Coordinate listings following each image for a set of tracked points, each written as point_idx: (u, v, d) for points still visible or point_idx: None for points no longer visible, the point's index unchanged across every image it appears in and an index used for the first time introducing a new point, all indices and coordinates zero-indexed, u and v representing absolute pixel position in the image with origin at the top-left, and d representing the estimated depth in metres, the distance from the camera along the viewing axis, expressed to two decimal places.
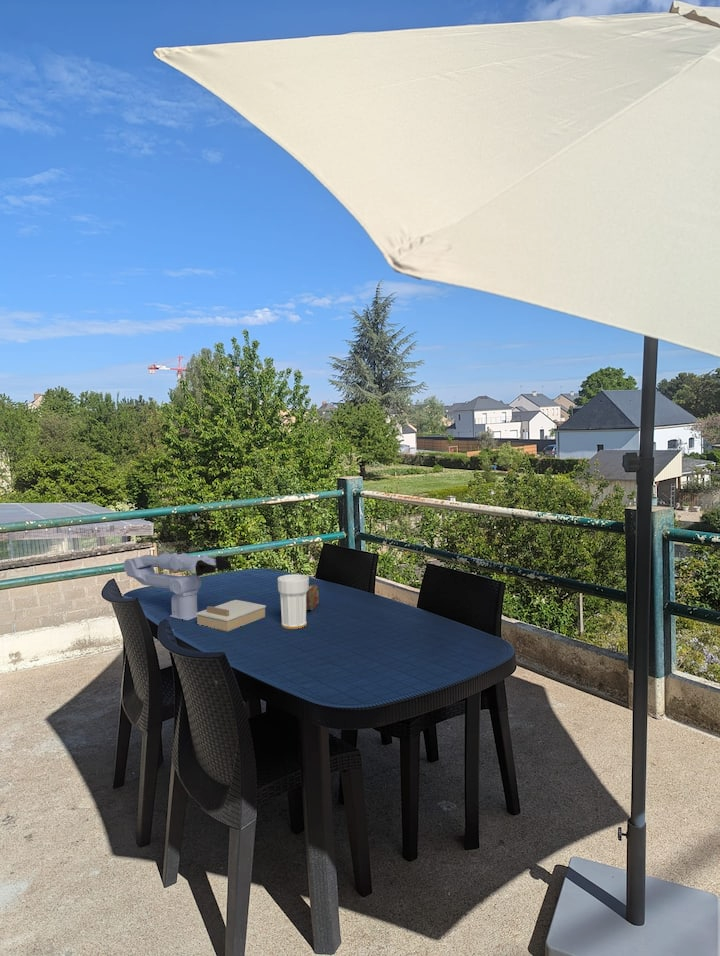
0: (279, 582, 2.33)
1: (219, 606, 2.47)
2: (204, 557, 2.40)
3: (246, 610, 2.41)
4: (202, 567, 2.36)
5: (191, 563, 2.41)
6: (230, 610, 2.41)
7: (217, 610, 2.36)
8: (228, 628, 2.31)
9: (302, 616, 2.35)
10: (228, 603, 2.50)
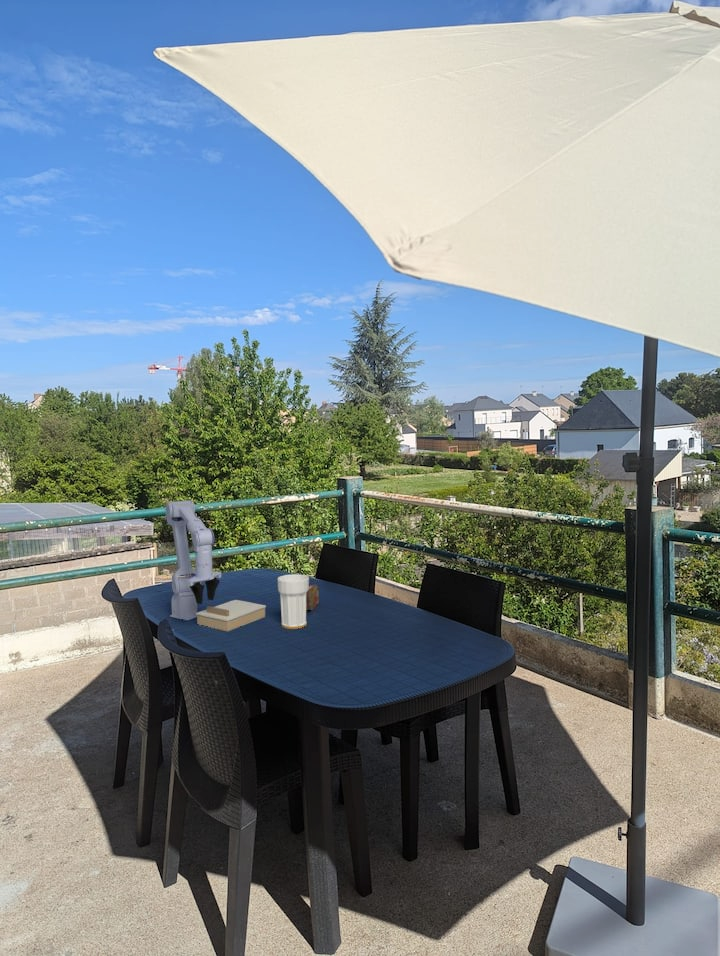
0: (279, 582, 2.33)
1: (219, 606, 2.47)
2: None
3: (246, 610, 2.41)
4: None
5: (199, 566, 2.28)
6: (230, 610, 2.41)
7: (217, 610, 2.36)
8: (228, 628, 2.31)
9: (302, 616, 2.35)
10: (228, 603, 2.50)
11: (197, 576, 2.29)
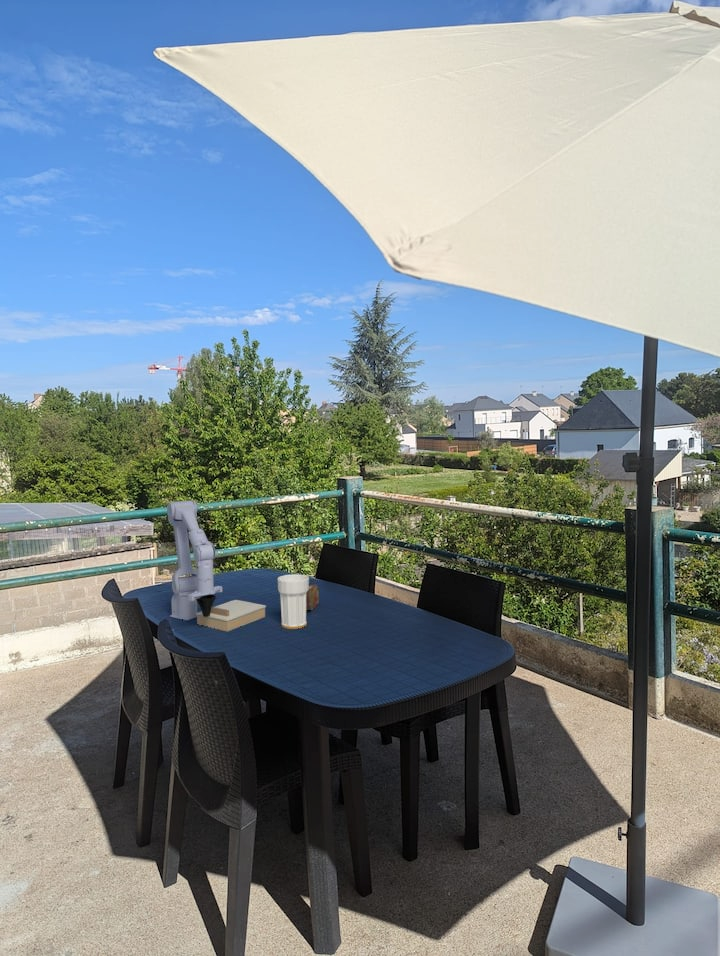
0: (279, 582, 2.33)
1: (219, 606, 2.47)
2: (210, 594, 2.29)
3: (246, 610, 2.41)
4: None
5: (200, 581, 2.29)
6: (230, 610, 2.41)
7: (217, 610, 2.36)
8: (228, 628, 2.31)
9: (302, 616, 2.35)
10: (228, 603, 2.50)
11: (198, 591, 2.29)
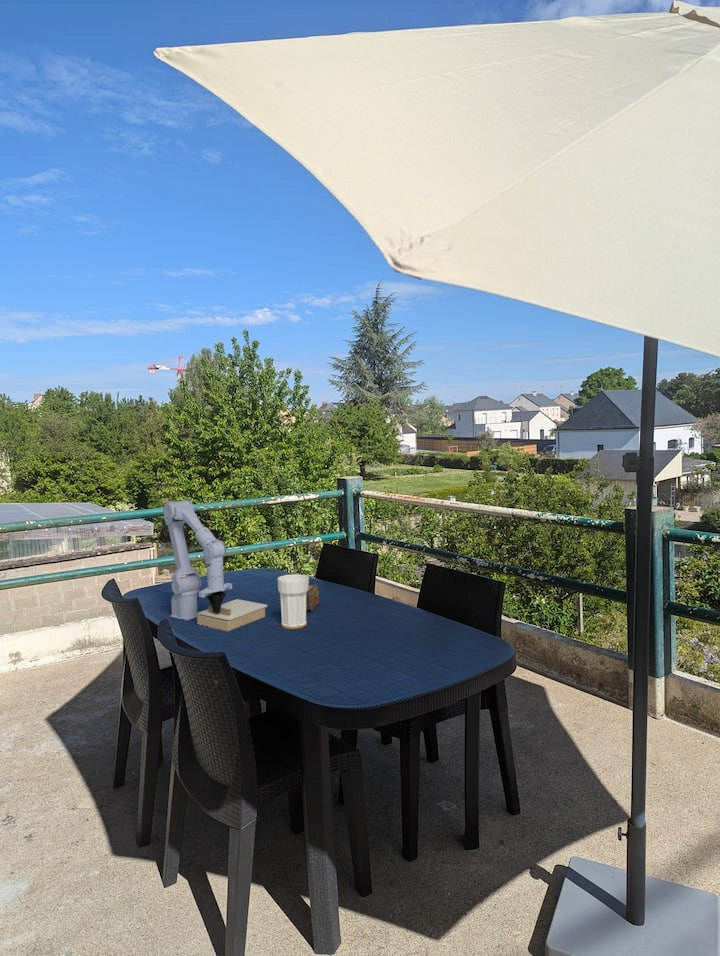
0: (279, 582, 2.33)
1: (221, 605, 2.47)
2: (220, 590, 2.34)
3: (248, 609, 2.42)
4: None
5: (211, 578, 2.33)
6: (232, 609, 2.42)
7: None
8: (228, 628, 2.31)
9: (302, 616, 2.35)
10: (229, 603, 2.51)
11: (209, 588, 2.34)
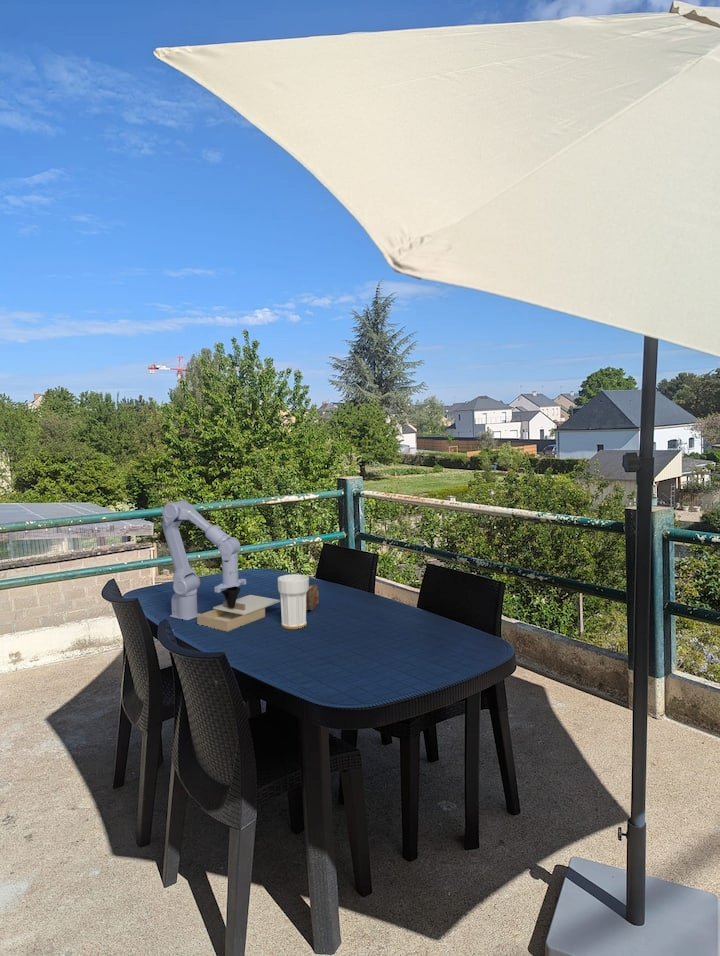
0: (279, 582, 2.33)
1: None
2: None
3: (261, 604, 2.48)
4: None
5: (226, 574, 2.39)
6: (246, 604, 2.48)
7: None
8: (228, 628, 2.31)
9: (302, 616, 2.35)
10: (243, 598, 2.57)
11: (224, 583, 2.40)
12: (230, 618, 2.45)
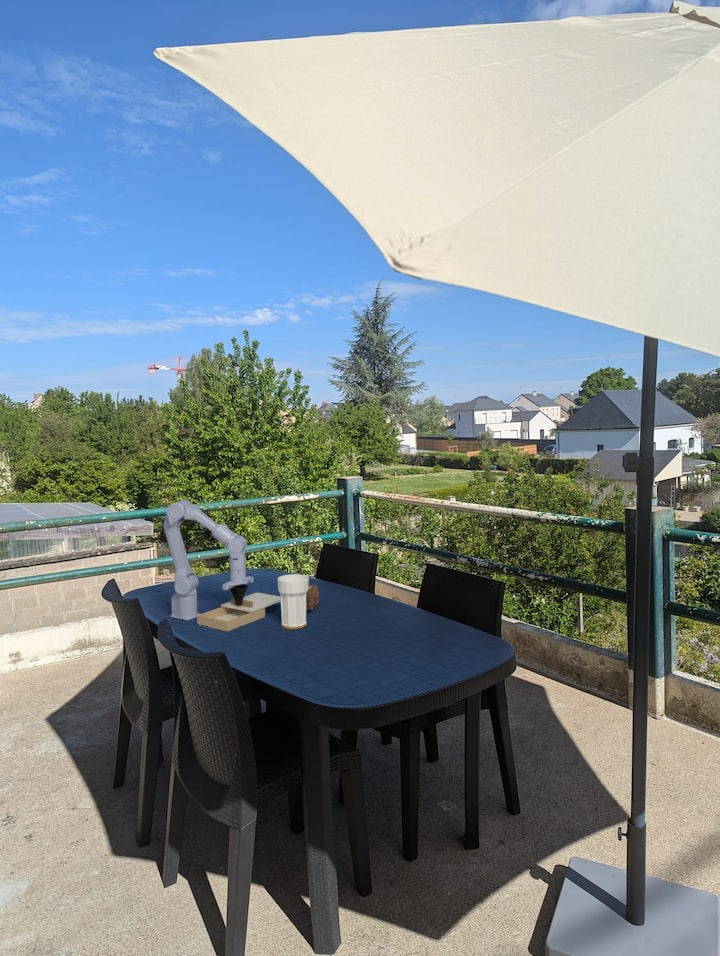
0: (279, 582, 2.33)
1: None
2: (243, 583, 2.43)
3: (268, 602, 2.52)
4: None
5: (234, 571, 2.42)
6: (253, 602, 2.52)
7: None
8: (228, 628, 2.31)
9: (302, 616, 2.35)
10: (250, 596, 2.61)
11: (232, 581, 2.43)
12: (230, 618, 2.45)
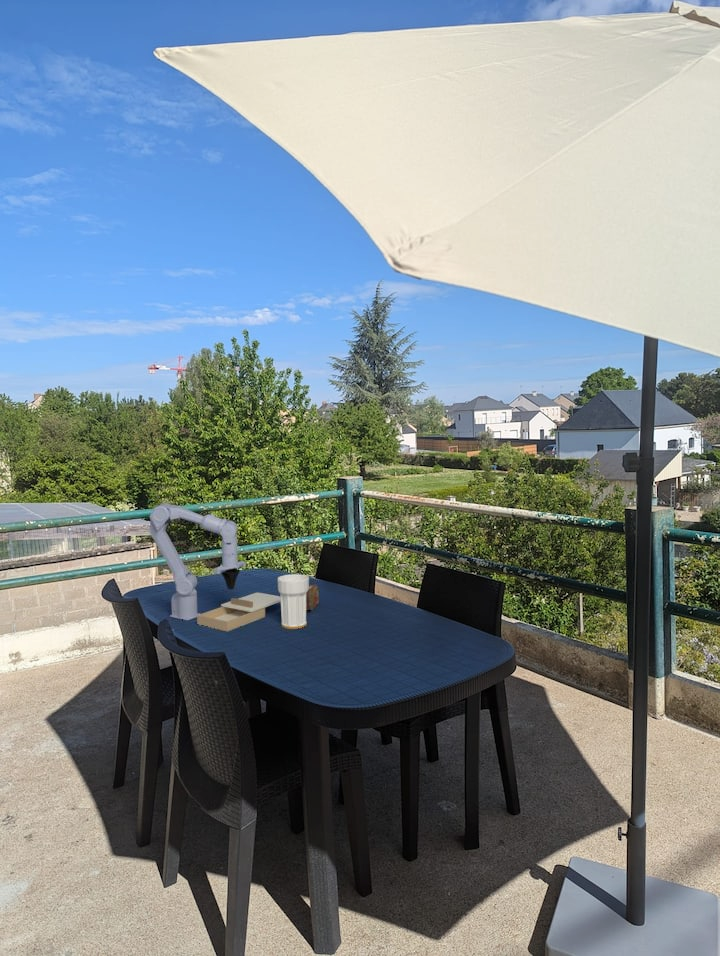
0: (279, 582, 2.33)
1: (242, 598, 2.57)
2: (234, 568, 2.46)
3: (269, 602, 2.52)
4: (229, 574, 2.48)
5: (225, 556, 2.45)
6: (253, 602, 2.52)
7: (241, 602, 2.47)
8: (228, 628, 2.31)
9: (302, 616, 2.35)
10: (250, 595, 2.61)
11: (223, 565, 2.46)
12: (230, 618, 2.45)
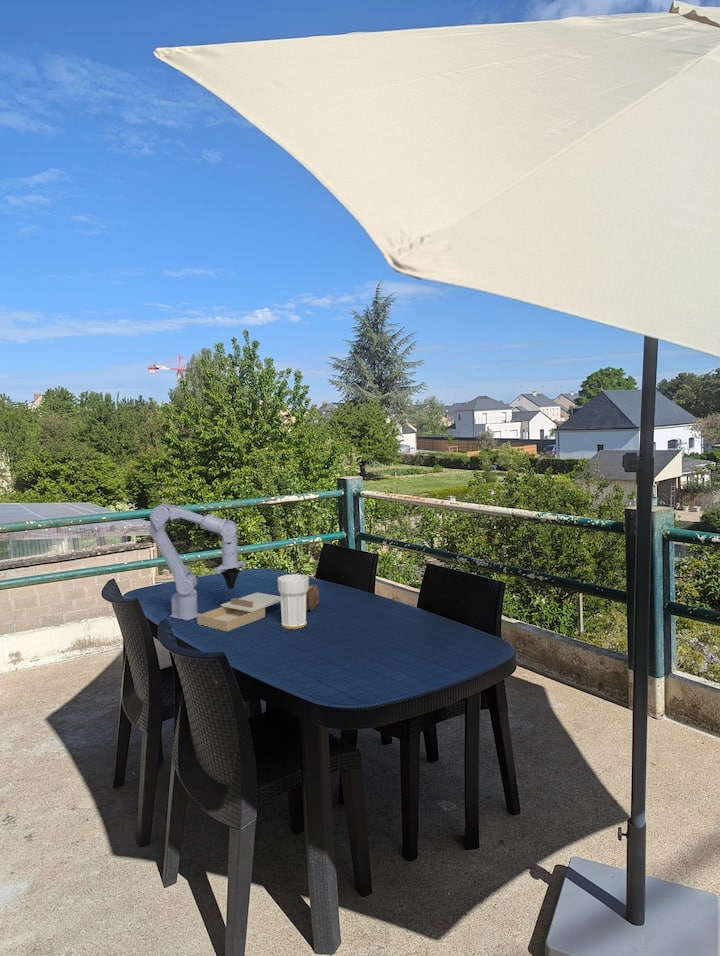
0: (279, 582, 2.33)
1: (242, 598, 2.57)
2: (234, 567, 2.46)
3: (269, 602, 2.52)
4: None
5: (226, 555, 2.45)
6: (253, 602, 2.52)
7: (241, 602, 2.47)
8: (228, 628, 2.31)
9: (302, 616, 2.35)
10: (250, 595, 2.61)
11: (224, 564, 2.46)
12: (230, 618, 2.45)
